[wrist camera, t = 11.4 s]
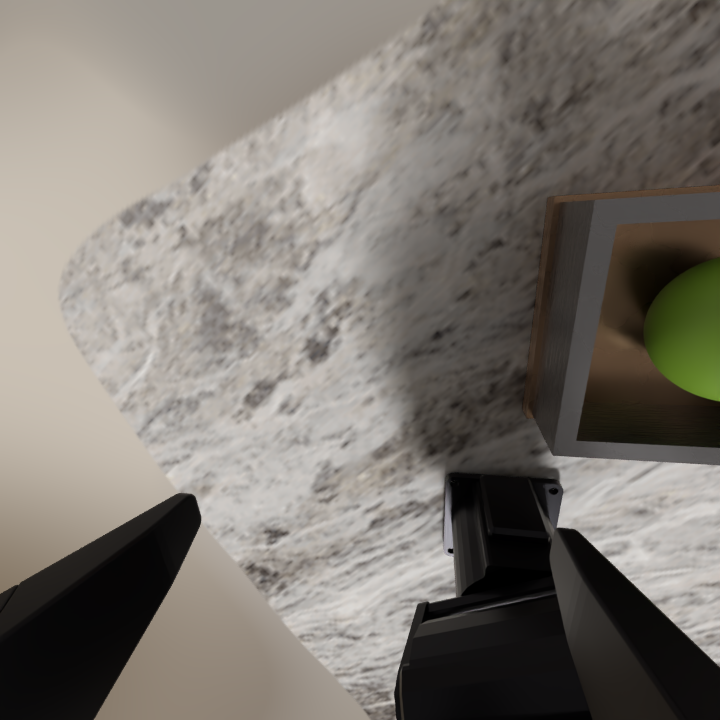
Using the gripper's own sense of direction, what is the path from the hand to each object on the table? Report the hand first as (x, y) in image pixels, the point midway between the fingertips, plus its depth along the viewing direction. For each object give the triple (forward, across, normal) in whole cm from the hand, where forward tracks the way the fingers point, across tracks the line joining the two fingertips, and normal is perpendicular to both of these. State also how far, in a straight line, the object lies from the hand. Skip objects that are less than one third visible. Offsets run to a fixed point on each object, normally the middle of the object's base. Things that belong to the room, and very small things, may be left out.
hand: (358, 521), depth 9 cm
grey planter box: (+12, -12, -2) cm, 17 cm away
